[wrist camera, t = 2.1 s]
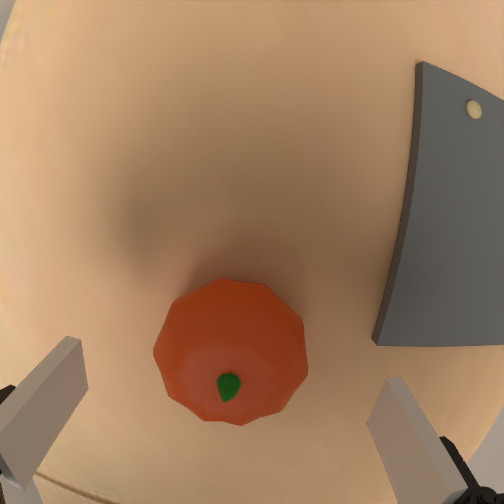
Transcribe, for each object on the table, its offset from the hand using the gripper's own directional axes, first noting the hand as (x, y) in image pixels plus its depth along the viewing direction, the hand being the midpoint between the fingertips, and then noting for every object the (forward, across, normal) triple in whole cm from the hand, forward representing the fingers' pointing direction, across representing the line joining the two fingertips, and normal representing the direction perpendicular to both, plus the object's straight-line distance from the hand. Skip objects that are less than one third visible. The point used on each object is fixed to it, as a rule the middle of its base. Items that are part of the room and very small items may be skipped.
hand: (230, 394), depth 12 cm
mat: (+7, -17, -8) cm, 20 cm away
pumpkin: (+7, 0, 0) cm, 7 cm away
